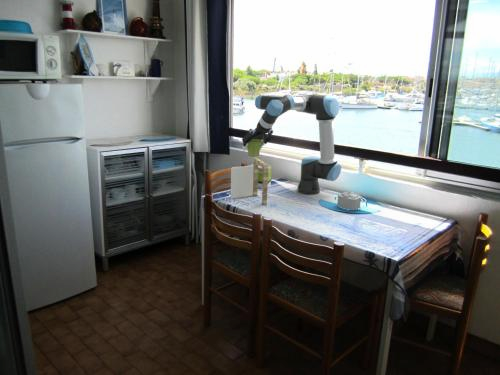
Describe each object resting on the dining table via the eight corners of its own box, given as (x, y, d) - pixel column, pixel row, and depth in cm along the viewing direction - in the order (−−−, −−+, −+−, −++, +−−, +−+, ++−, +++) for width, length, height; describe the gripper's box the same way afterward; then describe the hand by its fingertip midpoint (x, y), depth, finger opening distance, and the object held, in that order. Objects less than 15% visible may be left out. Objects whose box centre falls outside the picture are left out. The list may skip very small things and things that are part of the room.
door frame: (266, 204, 242) (268, 164, 235) (263, 205, 241) (264, 165, 234) (256, 194, 261) (257, 157, 254) (252, 195, 260) (253, 157, 253)
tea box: (246, 187, 278) (246, 166, 274) (250, 183, 287) (251, 163, 283) (267, 189, 274) (268, 168, 270) (271, 185, 283) (271, 165, 279)
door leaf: (231, 198, 250) (231, 167, 245) (229, 196, 253) (229, 166, 247) (252, 195, 257) (253, 165, 251) (250, 194, 259) (251, 165, 254)
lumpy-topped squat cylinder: (353, 211, 234) (355, 197, 231) (333, 206, 242) (334, 192, 239) (361, 207, 241) (363, 193, 239) (342, 202, 249) (343, 189, 247)
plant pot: (260, 158, 225) (260, 142, 223) (243, 156, 227) (244, 141, 225) (263, 155, 234) (263, 140, 232) (247, 154, 236) (247, 139, 234)
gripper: (249, 129, 208) (235, 154, 226) (285, 128, 218) (270, 152, 235) (244, 118, 211) (231, 143, 229) (281, 117, 221) (266, 142, 239)
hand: (251, 148), depth 232 cm, fingers closed on plant pot, 9 cm apart
